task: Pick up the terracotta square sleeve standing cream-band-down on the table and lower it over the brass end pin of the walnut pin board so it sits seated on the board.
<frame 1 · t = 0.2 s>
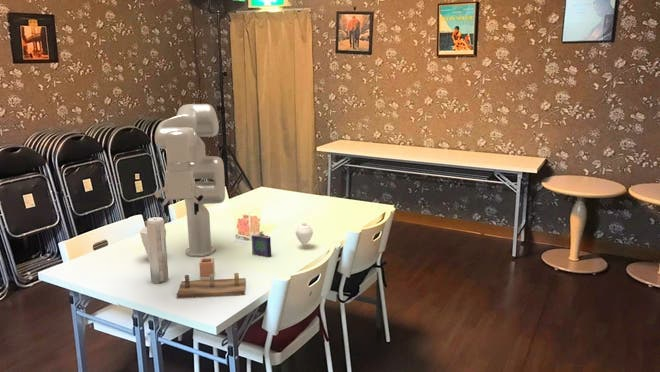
hand: (181, 214, 194), 31 cm above the table, tool pointing down, fingers open, 9 cm apart
cup: (155, 260, 235), on the table
sleeve: (207, 277, 216), on the table
pin board: (212, 289, 205), on the table
spinning top: (304, 248, 249), on the table
beige tall cylinder: (160, 281, 214), on the table
flask: (261, 255, 240), on the table
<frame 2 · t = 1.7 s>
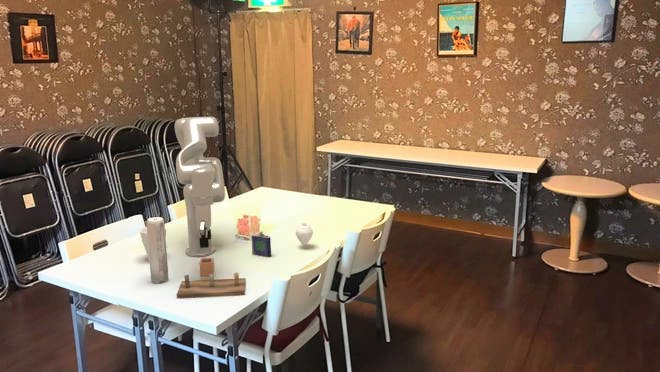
hand: (205, 243, 212), 14 cm above the table, tool pointing down, fingers open, 9 cm apart
nothing on the table moved.
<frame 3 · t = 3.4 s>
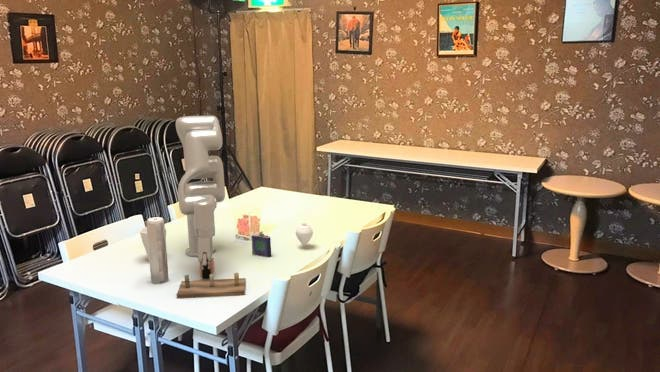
hand: (207, 275, 216), 1 cm above the table, tool pointing down, fingers closed on sleeve, 5 cm apart
sleeve: (207, 277, 216), on the table, touching gripper
everything else where it was.
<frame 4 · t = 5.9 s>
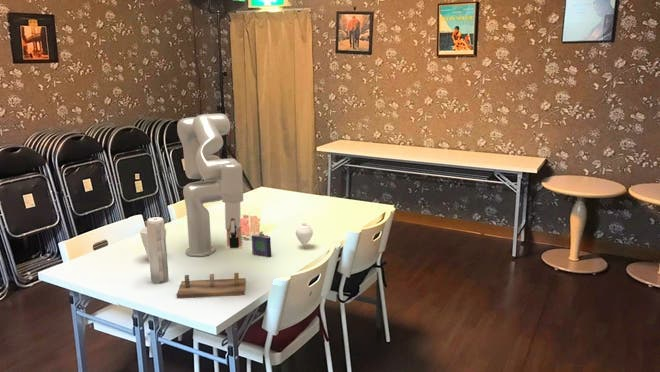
hand: (234, 244, 202), 17 cm above the table, tool pointing down, fingers closed on sleeve, 5 cm apart
sleeve: (234, 246, 202), point 17 cm above the table, touching gripper
everything else where it was.
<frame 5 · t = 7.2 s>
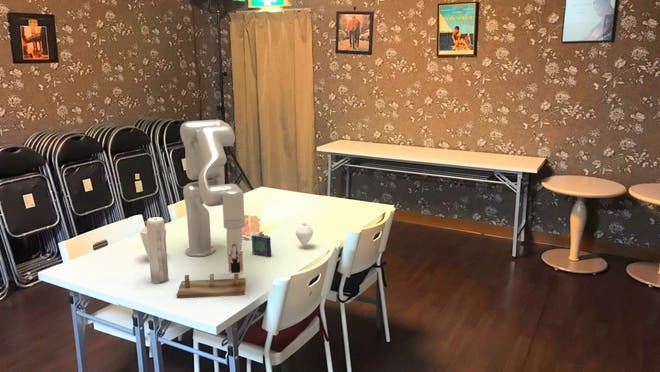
hand: (236, 268, 204), 8 cm above the table, tool pointing down, fingers closed on sleeve, 5 cm apart
sleeve: (236, 271, 204), point 7 cm above the table, touching gripper
everything else where it was.
when the fingers open (4 cm above the table, at t = 8.4 s): sleeve drops 1 cm, resting on pin board.
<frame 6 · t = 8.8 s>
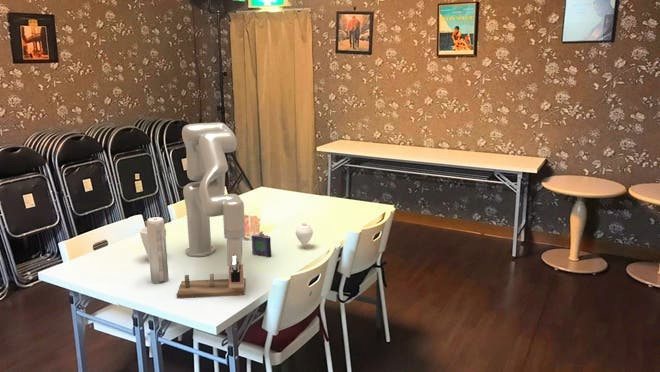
hand: (236, 276, 205), 5 cm above the table, tool pointing down, fingers open, 9 cm apart
sleeve: (236, 284, 206), point 1 cm above the table, touching pin board
everything else where it was.
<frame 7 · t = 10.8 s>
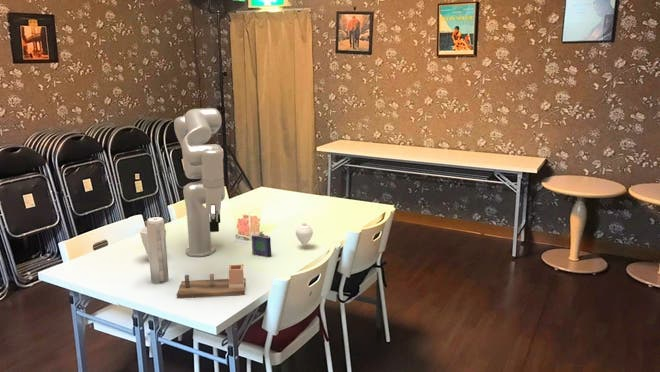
hand: (215, 227, 205), 23 cm above the table, tool pointing down, fingers open, 9 cm apart
nothing on the table moved.
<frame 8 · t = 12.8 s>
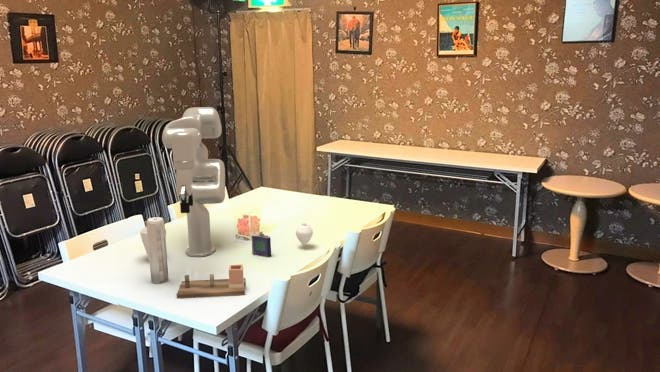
hand: (187, 209, 208), 28 cm above the table, tool pointing down, fingers open, 9 cm apart
nothing on the table moved.
at the end: sleeve 0.1 cm from the target spot, point 1.5 cm above the table; sleeve tilted 0°; the gripper is holding nothing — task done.
